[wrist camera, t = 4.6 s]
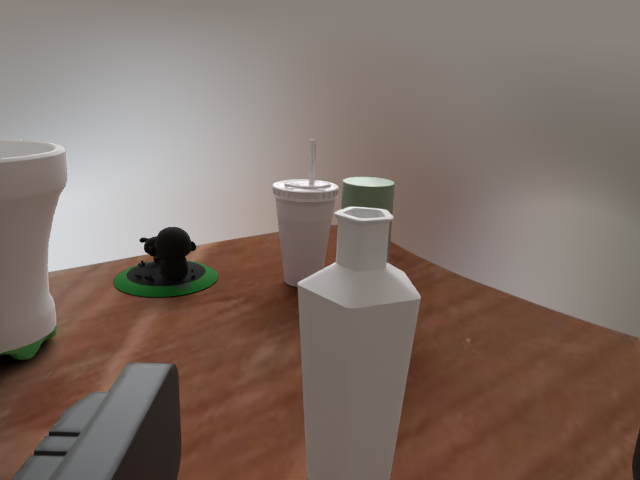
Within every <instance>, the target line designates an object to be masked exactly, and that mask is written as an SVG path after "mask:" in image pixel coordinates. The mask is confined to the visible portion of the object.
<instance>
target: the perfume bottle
mask: <svg viewBox="0 0 640 480" xmlns="http://www.w3.org/2000/svg"><path fill="white" fill-rule="evenodd" d="M334 214H335V216H336V217H337V218H338V231H337V252H336V262H335V263H333V264H331V265H329V266H328V267H326V268H324V269H322V270H320V271H318V272H316V273H314V274H313V275H311V276H309V277H307V278H305V279H303V280H301V281H300V282H298V303H299V323H300V342H301V362H302V382H303V401H304V421H305V440H306V460H307V480H390V474H391V468H392V462H393V457H394V451H395V445H396V439H397V433H398V427H399V422H400V416H401V410H402V404H403V398H404V392H405V387H406V381H407V375H408V369H409V363H410V357H411V351H412V346H413V340H414V334H415V328H416V322H417V316H418V311H419V305H420V299H421V296H420V295H419V293H418V292H417V290H416V289H415V287H414V286H413V284H412V283H411V281H410V280H409V278H408V277H407V276H406V274H405V273H404V272H403V271H401V270H399V269H397V268H396V267H394V266H392V265H390V264H389V263H387V248H388V235H389V223H390V222H391V221H392V220H393V219H394V217H393V216H392V215H391V214H390V213H389V211H388V210H385V209H378V208H366V207H347V208H344V209H342V210H339V211H336V212H335V213H334Z"/></svg>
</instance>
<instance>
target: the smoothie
mask: <svg viewBox="0 0 640 480" xmlns="http://www.w3.org/2000/svg"><path fill="white" fill-rule="evenodd" d="M315 153H316V139H310V157H309V180H304V179H296V180H284V181H279V182H276V183H274V184H273V193H272V196H273V197H275V198H276V207H277V216H278V225H279V235H280V244H281V253H282V262H283V271H284V280H285V283H287V284H288V285H291V286H295V287H298V282H300V281H301V280H303V279H305V278H307V277H309V276H311V275H313V274H314V273H316V272H318V271H320V270H322V269H324V263H325V257H326V251H327V245H328V239H329V233H330V227H331V221H332V216H333V209H334V203H335V199H337V198H338V197H339V195H338V190H339V188H338V186H337V185H336V184H333V183H330V182H326V181H319V180H315Z"/></svg>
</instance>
